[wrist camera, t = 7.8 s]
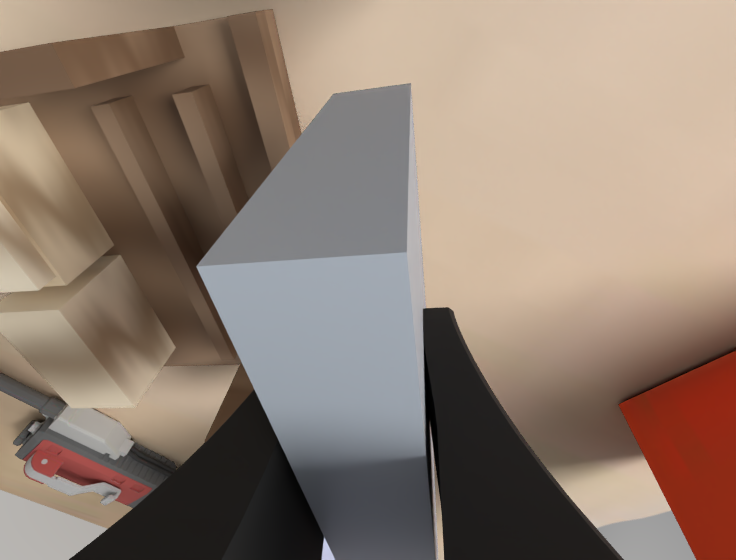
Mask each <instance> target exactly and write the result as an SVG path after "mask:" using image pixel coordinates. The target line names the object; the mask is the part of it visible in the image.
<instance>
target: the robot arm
mask: <svg viewBox="0 0 736 560" xmlns="http://www.w3.org/2000/svg"><path fill="white" fill-rule="evenodd" d="M423 342H424V355H425V368H426V381H427V394H428V407H429V419H430V427H431V435H432V442H433V449H434V457H435V464H436V471H437V479H438V486H439V494H440V501H441V510H442V524H443V542H444V560H624V559H623V558H622V557H621V556H620V555H619V554H618V553H617V551H616V550H615V549H614V548H613V547H612V546H611V545H610V543H609V542H608V541H607V540H606V539H605V538H604V537H603V536H602V534H601V533H600V532H599V531H598V530H597V528H596V527H595V526H594V525H593V524H592V523H591V522H590V520H589V519H588V518H587V517H586V516H585V515H584V514H583V512H582V511H581V510H580V509H579V508H578V507H577V506H576V504H575V503H574V502H573V501H572V500H571V498H570V497H569V496H568V495H567V494H566V492H565V491H564V490H563V489H562V487H561V486H560V485H559V484H558V482H557V481H556V480H555V479H554V477H553V476H552V475H551V474H550V472H549V471H548V470H547V469H546V467H545V466H544V465H543V463H542V462H541V461H540V459H539V458H538V457H537V455H536V454H535V453H534V451H533V450H532V449H531V447H530V446H529V445H528V443H527V442H526V441H525V439H524V438H523V436H522V435H521V434H520V432H519V431H518V429H517V428H516V427H515V425H514V424H513V422H512V421H511V419H510V418H509V416H508V415H507V413H506V412H505V410H504V409H503V407H502V406H501V404H500V403H499V401H498V400H497V398H496V396H495V395H494V393H493V391H492V390H491V388H490V387H489V385H488V383H487V382H486V380H485V378H484V376H483V375H482V373H481V371H480V369H479V368H478V366H477V364H476V362H475V361H474V359H473V357H472V355H471V353H470V351H469V349H468V347H467V345H466V343H465V341H464V339H463V336H462V334H461V332H460V330H459V327H458V325H457V322H456V319H455V316H454V312H453V311H452V310H451V309H450V308H449V307H446V308H424V309H423ZM69 560H335V558H334V556H333V554H332V552H331V550H330V548H329V546H328V544H327V541H326V539H325V537H324V535H323V533H322V531H321V529H320V527H319V525H318V522H317V520H316V518H315V516H314V514H313V512H312V510H311V508H310V506H309V503H308V501H307V499H306V497H305V495H304V493H303V491H302V489H301V487H300V484H299V482H298V480H297V478H296V476H295V474H294V472H293V470H292V468H291V465H290V463H289V461H288V459H287V457H286V455H285V453H284V451H283V449H282V446H281V444H280V442H279V440H278V438H277V436H276V434H275V432H274V430H273V428H272V425H271V423H270V421H269V419H268V417H267V415H266V413H265V411H264V409H263V406H262V404H261V402H260V400H259V398H258V396H257V394H256V392H255V390H253V391H252V392H251V393H250V394H249V396H248V397H247V398H246V399H245V400H244V401H243V402H242V404H241V405H240V406H239V407H238V408H237V409H236V410H235V411H234V413H233V414H232V415H231V416H230V417H229V418H228V419H227V420H226V421H225V422H224V424H223V425H222V426H221V427H220V428H219V429H218V430H217V431H216V432H215V433H214V434H213V435H212V436H211V437H210V438H209V439H208V440H207V441H206V442H205V443H204V444H203V445H202V446H201V447H200V448H199V449H198V450H197V451H196V452H195V453H194V454H193V455H192V456H191V457H190V458H189V459H188V460H187V461H186V462H185V463H184V464H183V465H181V466H180V467H179V468H178V469H177V470H176V471H175V472H174V473H173V474H172V475H171V476H169V477H168V478H167V479H166V480H165V481H164V482H163V483H162V484H160V485H159V486H158V487H157V488H156V489H155V490H154V491H152V492H151V493H150V494H149V495H148V496H147V497H146V498H145V499H143V500H142V501H141V502H140V503H139V504H138V505H137V506H135V507H134V508H133V509H132V510H131V511H130V512H128V513H127V514H126V515H125V516H123V517H122V518H121V519H120V520H118V521H117V522H116V523H115V524H114V525H112V526H111V527H110V528H109V529H107V530H106V531H105V532H104V533H102V534H101V535H100V536H99V537H97V538H96V539H95V540H94V541H92V542H91V543H90V544H89V545H87V546H86V547H85V548H83V549H82V550H81V551H80V552H78V553H77V554H76V555H75V556H73V557H72V558H71V559H69Z"/></svg>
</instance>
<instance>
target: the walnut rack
mask: <svg viewBox="0 0 736 560" xmlns="http://www.w3.org/2000/svg"><path fill="white" fill-rule="evenodd" d="M28 102H29V103H30V105H31V107H32V108H33V110H34V112H35V113H36V115H37V117H38V118H39V120H40V122H41V124H42V125H43V127H44V129H45V130H46V132H47V134H48V135H49V137H50V139H51V140H52V142H53V144H54V145H55V147H56V149H57V150H58V152H59V154H60V155H61V157H62V159H63V160H64V162H65V164H66V165H67V167H68V169H69V170H70V172H71V174H72V175H73V177H74V179H75V180H76V182H77V184H78V185H79V187H80V189H81V190H82V192H83V194H84V195H85V197H86V199H87V200H88V202H89V204H90V205H91V207H92V209H93V210H94V212H95V214H96V215H97V217H98V219H99V220H100V222H101V224H102V225H103V227H104V229H105V230H106V232H107V234H108V235H109V237H110V239H111V240H112V242H113V244H114V246H113V247H112V248H111V249H109V250H108V251H107V252H106V253H105V254H103V255H102V256H111V255H121V257H122V259H123V260H124V262H125V264H126V265H127V267H128V269H129V270H130V272H131V274H132V275H133V277H134V279H135V280H136V282H137V284H138V285H139V287H140V289H141V290H142V292H143V294H144V295H145V297H146V299H147V300H148V302H149V304H150V305H151V307H152V309H153V310H154V312H155V314H156V315H157V317H158V319H159V320H160V322H161V324H162V325H163V327H164V329H165V330H166V332H167V334H168V335H169V337H170V339H171V340H172V342H173V344H174V345H175V347H176V348H175V349H174V351H173V352H172V354H171V355H170V357H169V358H168V360H167V361H166V363H165V364H164V366H191V365H231V364H240V366H239V368H238V370H237V373H236V375H235V377H234V379H233V381H232V383H231V386H230V388H229V390H228V392H227V394H226V396H225V398H224V401H223V403H222V405H221V407H220V409H219V411H218V413H217V416H216V418H215V420H214V422H213V424H212V426H211V428H210V431H209V433H208V435H207V437H206V439H205V442H206V441H207V440H208V439H209V438H210V437H211V436H212V435H213V434H214V433H215V432H216V431H217V430H218V429H219V428H220V427H221V426H222V425H223V424H224V422H225V421H226V420H227V419H228V418H229V417H230V416H231V415H232V414H233V413H234V411H235V410H236V409H237V408H238V407H239V406H240V405H241V404H242V402H243V401H244V400H245V399H246V398H247V397H248V396H249V394H250V393H251V392H252V391H253V390H254V387H253V385H252V383H251V381H250V379H249V377H248V375H247V373H246V371H245V368H244V366H243V364H242V362H241V360H240V358H239V356H238V354H237V352H236V349H235V347H234V345H233V343H232V341H231V339H230V337H229V335H228V333H227V330H226V328H225V326H224V324H223V322H222V320H221V318H220V316H219V314H218V311H217V309H216V307H215V305H214V303H213V301H212V299H211V297H210V295H209V292H208V290H207V288H206V286H205V284H204V282H203V280H202V278H201V276H200V273H199V271H198V269H197V267H196V266H197V265H198V264H199V262H200V261H201V260H202V259H203V257H204V256H205V255H206V254H207V252H208V251H209V250H210V248H211V247H212V246H213V245H214V243H215V242H216V241H217V240H218V238H219V237H220V236H221V235H222V233H223V232H224V231H225V230H226V228H227V227H228V226H229V225H230V223H231V222H232V221H233V220H234V218H235V217H236V216H237V215H238V213H239V212H240V211H241V210H242V208H243V207H244V206H245V205H246V203H247V202H248V201H249V199H250V198H251V197H252V196H253V194H254V193H255V192H256V191H257V189H258V188H259V187H260V186H261V184H262V183H263V182H264V181H265V179H266V178H267V177H268V176H269V174H270V173H271V172H272V171H273V169H274V168H275V167H276V166H277V164H278V163H279V162H280V161H281V159H282V158H283V157H284V155H285V154H286V153H287V152H288V150H289V149H290V148H291V147H292V145H293V144H294V143H295V142H296V140H297V139H298V138H299V137H300V135H301V130H300V126H299V121H298V117H297V113H296V108H295V104H294V100H293V95H292V91H291V87H290V82H289V78H288V74H287V69H286V65H285V61H284V57H283V52H282V48H281V44H280V39H279V35H278V31H277V26H276V22H275V18H274V13H273V9H272V10H263V11H255V12H249V13H243V14H238V15H232V16H227V17H224V18H218V19H212V20H207V21H201V22H195V23H190V24H184V25H178V26H172V27H165V28H157V29H150V30H143V31H135V32H128V33H121V34H113V35H106V36H99V37H91V38H84V39H77V40H70V41H62V42H55V43H48V44H43V45H37V46H31V47H26V48H20V49H15V50H9V51H3V52H0V107H2V106H9V105H15V104H22V103H28Z"/></svg>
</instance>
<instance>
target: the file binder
mask: <svg viewBox="0 0 736 560" xmlns="http://www.w3.org/2000/svg"><path fill="white" fill-rule="evenodd" d="M618 405H619V407H620V409H621V411H622V413H623V415H624V417H625V419H626V421H627V423H628V425H629V427H630V429H631V431H632V433H633V435H634V437H635V439H636V441H637V442H638V444H639V446H640V448H641V450H642V452H643V454H644V456H645V458H646V460H647V462H648V464H649V466H650V468H651V470H652V472H653V474H654V476H655V478H656V480H657V482H658V484H659V486H660V488H661V490H662V492H663V494H664V496H665V498H666V500H667V502H668V504H669V506H670V508H671V510H672V512H673V514H674V516H675V518H676V520H677V522H678V524H679V526H680V528H681V530H682V532H683V534H684V536H685V538H686V540H687V542H688V544H689V546H690V547H691V550H692V552H693V554H694V556H695V558H696V560H736V351H734V352H732V353H729V354H727V355H725V356H723V357H721V358H718V359H716V360H714V361H712V362H710V363H708V364H705V365H703V366H701V367H699V368H697V369H694V370H692V371H690V372H688V373H686V374H684V375H681V376H679V377H677V378H675V379H673V380H670V381H668V382H666V383H664V384H662V385H660V386H657V387H655V388H653V389H651V390H649V391H646V392H644V393H642V394H640V395H638V396H636V397H633V398H631V399H629V400H627V401H625V402H622V403H620V404H618Z"/></svg>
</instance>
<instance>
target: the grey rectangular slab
mask: <svg viewBox="0 0 736 560" xmlns="http://www.w3.org/2000/svg"><path fill="white" fill-rule="evenodd" d="M196 267H197V269H198V271H199V273H200V276H201V278H202V280H203V282H204V284H205V286H206V288H207V290H208V292H209V295H210V297H211V299H212V301H213V303H214V305H215V307H216V309H217V311H218V314H219V316H220V318H221V320H222V322H223V324H224V326H225V328H226V330H227V333H228V335H229V337H230V339H231V341H232V343H233V345H234V347H235V349H236V352H237V354H238V356H239V358H240V360H241V362H242V364H243V366H244V368H245V371H246V373H247V375H248V377H249V379H250V381H251V383H252V385H253V387H254V390H255V392H256V394H257V396H258V398H259V400H260V402H261V404H262V406H263V409H264V411H265V413H266V415H267V417H268V419H269V421H270V423H271V425H272V428H273V430H274V432H275V434H276V436H277V438H278V440H279V442H280V444H281V446H282V449H283V451H284V453H285V455H286V457H287V459H288V461H289V463H290V465H291V468H292V470H293V472H294V474H295V476H296V478H297V480H298V482H299V484H300V487H301V489H302V491H303V493H304V495H305V497H306V499H307V501H308V503H309V506H310V508H311V510H312V512H313V514H314V516H315V518H316V520H317V522H318V525H319V527H320V529H321V531H322V533H323V535H324V537H325V539H326V541H327V544H328V546H329V548H330V550H331V552H332V554H333V556H334V558H335V560H438V543H437V521H436V498H435V476H434V453H433V442H432V435H431V427H430V419H429V407H428V394H427V381H426V368H425V355H424V342H423V309H424V308H426V302H425V287H424V272H423V257H422V242H421V228H420V213H419V198H418V183H417V168H416V153H415V138H414V123H413V108H412V93H411V83H409V84H402V85H395V86H387V87H380V88H372V89H365V90H357V91H350V92H343V93H335V94H333V95H332V96H331V98H330V99H329V100H328V101H327V103H326V104H325V105H324V106H323V108H322V109H321V110H320V111H319V113H318V114H317V115H316V117H315V118H314V119H313V120H312V122H311V123H310V124H309V125H308V127H307V128H306V129H305V130H304V132H303V133H302V134H301V135H300V137H299V138H298V139H297V140H296V142H295V143H294V144H293V145H292V147H291V148H290V149H289V150H288V152H287V153H286V154H285V155H284V157H283V158H282V159H281V161H280V162H279V163H278V164H277V166H276V167H275V168H274V169H273V171H272V172H271V173H270V174H269V176H268V177H267V178H266V179H265V181H264V182H263V183H262V184H261V186H260V187H259V188H258V189H257V191H256V192H255V193H254V194H253V196H252V197H251V198H250V199H249V201H248V202H247V203H246V205H245V206H244V207H243V208H242V210H241V211H240V212H239V213H238V215H237V216H236V217H235V218H234V220H233V221H232V222H231V223H230V225H229V226H228V227H227V228H226V230H225V231H224V232H223V233H222V235H221V236H220V237H219V238H218V240H217V241H216V242H215V243H214V245H213V246H212V247H211V248H210V250H209V251H208V252H207V254H206V255H205V256H204V257H203V259H202V260H201V261H200V262H199V264H198V265H197V266H196Z"/></svg>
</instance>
